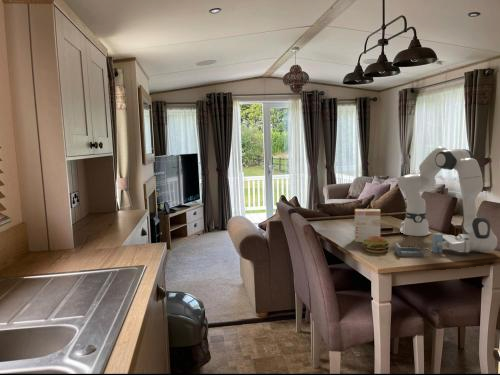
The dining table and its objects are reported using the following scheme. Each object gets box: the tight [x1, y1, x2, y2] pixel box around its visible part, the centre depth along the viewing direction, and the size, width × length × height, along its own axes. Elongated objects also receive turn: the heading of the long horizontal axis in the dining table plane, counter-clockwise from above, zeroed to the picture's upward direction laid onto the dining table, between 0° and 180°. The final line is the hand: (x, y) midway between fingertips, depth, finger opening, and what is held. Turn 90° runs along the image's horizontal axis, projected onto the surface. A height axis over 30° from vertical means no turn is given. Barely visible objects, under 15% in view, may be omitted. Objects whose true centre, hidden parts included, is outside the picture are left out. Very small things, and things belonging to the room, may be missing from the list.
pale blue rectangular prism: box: [431, 232, 444, 254], centre depth 211 cm, size 4×4×10 cm
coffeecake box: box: [354, 208, 382, 243], centre depth 237 cm, size 15×7×20 cm, turn 74°
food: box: [361, 235, 390, 254], centre depth 217 cm, size 14×14×8 cm
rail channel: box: [394, 242, 425, 258], centre depth 208 cm, size 9×13×5 cm
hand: (435, 241), depth 211 cm, fingers closed on pale blue rectangular prism, 4 cm apart
